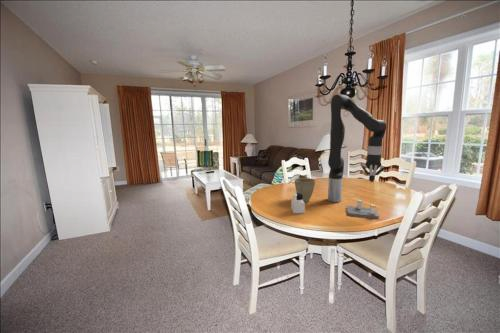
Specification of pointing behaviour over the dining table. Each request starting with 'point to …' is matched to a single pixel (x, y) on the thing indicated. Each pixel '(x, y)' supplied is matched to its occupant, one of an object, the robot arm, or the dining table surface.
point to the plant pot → (305, 187)
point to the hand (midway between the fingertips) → (371, 181)
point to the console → (361, 212)
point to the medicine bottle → (298, 203)
